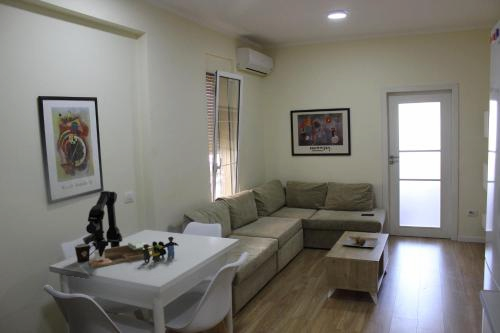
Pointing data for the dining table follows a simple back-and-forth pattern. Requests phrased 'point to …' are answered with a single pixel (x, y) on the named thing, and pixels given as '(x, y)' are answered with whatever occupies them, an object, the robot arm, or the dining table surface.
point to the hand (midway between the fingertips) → (99, 255)
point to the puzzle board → (118, 256)
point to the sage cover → (137, 245)
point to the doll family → (159, 250)
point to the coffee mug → (83, 252)
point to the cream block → (99, 255)
